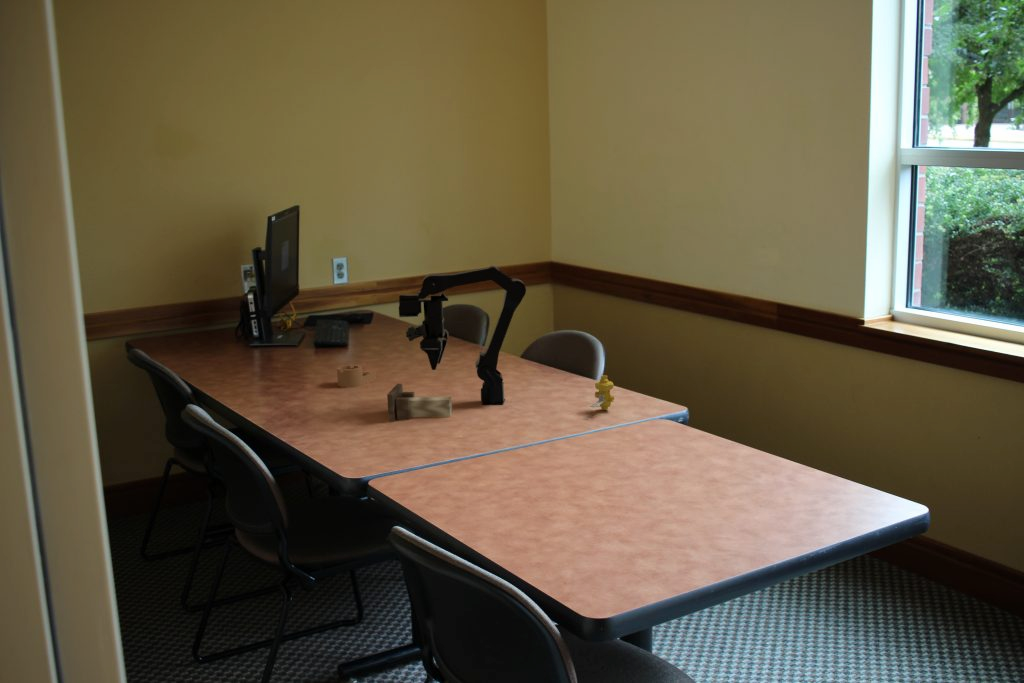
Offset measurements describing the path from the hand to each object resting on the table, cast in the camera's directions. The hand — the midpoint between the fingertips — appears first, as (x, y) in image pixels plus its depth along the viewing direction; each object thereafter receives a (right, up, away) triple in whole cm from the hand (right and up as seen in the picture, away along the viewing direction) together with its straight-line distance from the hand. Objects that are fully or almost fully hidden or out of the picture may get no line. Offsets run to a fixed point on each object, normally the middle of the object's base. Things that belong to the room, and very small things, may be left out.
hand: (435, 366), depth 302 cm
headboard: (-9, -14, -9) cm, 19 cm away
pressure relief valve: (+49, -13, -12) cm, 52 cm away
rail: (-2, -14, -10) cm, 17 cm away
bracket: (-29, -7, +35) cm, 46 cm away
